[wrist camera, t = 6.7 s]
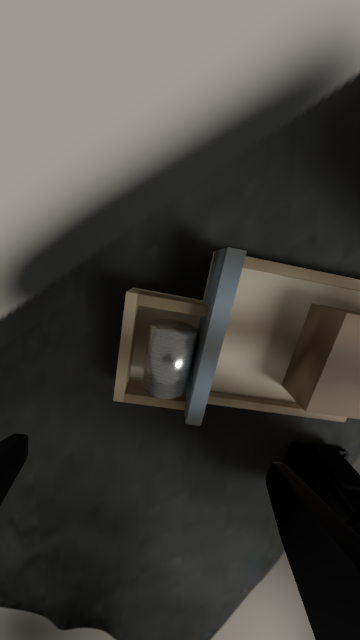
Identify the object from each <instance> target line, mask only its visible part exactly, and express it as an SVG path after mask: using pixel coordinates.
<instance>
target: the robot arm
mask: <svg viewBox="0 0 360 640" xmlns="http://www.w3.org/2000/svg"><path fill="white" fill-rule="evenodd" d="M348 455H349V454H348V452H347V451H346V450H345V449H342V448H334V447H325V446H317V445H309V444H300V443H293V444H292V445H291V446H290V448H289V451H288V453H287V456H286V458H285V460H284V463H282V462H272V463H271V466H270V468H269V471H268V473H267V475H266V485H267V489H268V493H269V497H270V500H271V504H272V508H273V512H274V516H275V519H276V523H277V527H278V530H279V534H280V537H281V540H282V543H283V546H284V549H285V552H286V555H287V558H288V561H289V564H290V566H291V570H292V572H293V575H294V578H295V581H296V584H297V587H298V590H299V593H300V596H301V599H302V601H303V604H304V607H305V610H306V613H307V616H308V619H309V622H310V624H311V628H312V630H313V633H314V636H315V639H316V640H360V475H359V474H358V472H357V471H356V470H355V469H354V468H353V467H352V466H351V465H350V464H349V462H348V461H347V460H346V459H347V458H348ZM27 456H28V436H27V435H25V434H13V435H11V436H9V437H7V438H5V439H4V440H2V441H0V505H1V503H2V501H3V500H4V498H5V496H6V494H7V493H8V491H9V489H10V487H11V486H12V484H13V482H14V480H15V479H16V477H17V475H18V473H19V472H20V470H21V468H22V466H23V465H24V463H25V461H26V459H27Z"/></svg>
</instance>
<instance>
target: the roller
mask: <svg viewBox="0 0 360 640" xmlns="http://www.w3.org/2000/svg"><path fill="white" fill-rule="evenodd" d="M197 333H198V330H197V328H195V327H194V326H192V325H190V324H188V323H185V322H181V321H176V320H168V319H159V320H154V321H152V322H151V323H150V328H149V336H148V343H147V351H146V358H145V366H144V373H143V381H142V386H143V388H144V390H145V391H146V392H147V393H148V394H150V395H152V396H154V397H157V398H161V399H175V398H178V397H180V396H182V395H183V394H184V393H185V391H186V388H187V383H188V378H189V373H190V368H191V363H192V358H193V353H194V348H195V343H196V338H197Z"/></svg>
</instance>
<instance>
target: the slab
mask: <svg viewBox="0 0 360 640" xmlns="http://www.w3.org/2000/svg"><path fill="white" fill-rule="evenodd" d="M282 387H283V388H284V389H285V390H286V391H287V392H288V393H289V394H290V395H291V396H292V398H293V399H294V400H295V401H296V402H297V403H298V404H299V405H300V406H301V407H302V408H303V410H304V411H305V412H311V413H318V414H325V415H333V416H340V417H347V418H355V419H360V312H355V311H350V310H344V309H339V308H334V307H329V306H324V305H318V304H313V303H311V306H310V309H309V312H308V314H307V317H306V320H305V322H304V325H303V328H302V331H301V333H300V336H299V339H298V341H297V344H296V347H295V350H294V352H293V355H292V358H291V360H290V363H289V366H288V369H287V371H286V374H285V377H284V379H283V382H282Z"/></svg>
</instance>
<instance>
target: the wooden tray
mask: <svg viewBox="0 0 360 640" xmlns="http://www.w3.org/2000/svg"><path fill="white" fill-rule="evenodd" d="M246 253H247V251H244V250H240V249H235V248H230V247H226V248H223V249H220V250H217V251H214V252H213V257H212V261H211V266H210V270H209V275H208V279H207V284H206V288H205V293H204V297H203V300H198V299H193V298H187V297H182V296H177V295H171V294H166V293H160V292H155V291H149V290H144V289H138V288H132V289H130V290H128V291H126V298H125V306H124V314H123V323H122V331H121V340H120V348H119V356H118V365H117V373H116V382H115V390H114V398H113V401H118V402H126V403H134V404H141V405H149V406H157V407H164V408H172V409H180V410H184V412H185V423H186V424H190V425H198V426H201V423H202V420H203V416H204V412H205V408H206V404H212V405H219V406H227V407H234V408H242V409H249V410H257V411H264V412H272V413H279V414H286V415H294V416H301V417H309V418H316V419H324V420H331V421H338V422H345V421H346V419H347V417H340V416H333V415H325V414H318V413H311V412H305V411H304V410H303V408H302V407H301V406H300V405H299V404H298V403H297V402H296V401H295V400H294V399H293V398H292V396H291V395H290V394H289V393H288V392H287V391H286V390H285V389H284V388H283V387H282V382H283V379H284V377H285V374H286V371H287V369H288V366H289V363H290V360H291V358H292V355H293V352H294V350H295V347H296V344H297V341H298V339H299V336H300V333H301V331H302V328H303V325H304V322H305V320H306V317H307V314H308V312H309V309H310V306H311V303H313V304H318V305H324V306H329V307H334V308H339V309H344V310H350V311H355V312H360V280H358V279H353V278H349V277H344V276H339V275H334V274H329V273H325V272H320V271H315V270H310V269H305V268H301V267H296V266H291V265H286V264H281V263H277V262H272V261H267V260H262V259H257V258H253V257H248V256H246ZM159 319H168V320H176V321H181V322H185V323H188V324H190V325H192V326H194V327H195V328H197V330H198V333H197V338H196V343H195V348H194V353H193V358H192V363H191V368H190V373H189V378H188V383H187V388H186V391H185V393H184V394H183V395H182V396H180V397H178V398H175V399H161V398H157V397H154V396H152V395H150V394H148V393H147V392H146V391H145V390H144V388H143V386H142V381H143V373H144V366H145V358H146V351H147V343H148V336H149V328H150V323H151V322H152V321H154V320H159Z"/></svg>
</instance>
